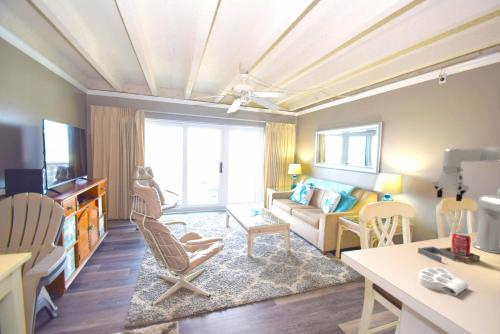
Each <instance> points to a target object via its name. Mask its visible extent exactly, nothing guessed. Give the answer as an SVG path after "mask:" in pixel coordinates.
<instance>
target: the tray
mask: <svg viewBox="0 0 500 334" xmlns="http://www.w3.org/2000/svg"><path fill="white" fill-rule="evenodd" d="M439 249H441V250H443V251H446V252H448V253H451V254H453V255H456V256H455V260H454V261H458V262H461V263H463V264H466V263H474V262H480V260H481V259H480V258H481V256H480V255H479V254H476V253H472V252H470V254H469V256H467V257H462V256H460V255H457V254H454V253H452V252H451V246H449V247H440V248H439Z"/></svg>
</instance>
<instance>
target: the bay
mask: <svg viewBox="0 0 500 334" xmlns="http://www.w3.org/2000/svg"><path fill="white" fill-rule="evenodd" d="M417 249H418V250H417V253H418V254H420V255H422V254H423V255H422V256H424V255H425V257H427V258H429V259H431V260H433V261H436V262H437V263H441V262H442V256H443V257H445V258H448V259H450V260H451V261H456V260H455V256H456V255H453V254H451V253H448V252H446V251H443V250H441V249H440V248H437V247H435V246H425V247H424V246H423V247H418V248H417ZM432 252H433V253H432ZM434 253H435V254H434Z"/></svg>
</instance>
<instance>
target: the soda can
mask: <svg viewBox="0 0 500 334" xmlns="http://www.w3.org/2000/svg"><path fill="white" fill-rule="evenodd" d="M471 243H472V239H471V237H470V234H468V233H466V232H461V231H454V233H453V234H452V237H451V245H450V247H451V252H452V253H454V254H457V255H460V256H462V257H467V256H469V254H470V253H471V245H472V244H471Z"/></svg>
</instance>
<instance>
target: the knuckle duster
mask: <svg viewBox="0 0 500 334" xmlns="http://www.w3.org/2000/svg"><path fill="white" fill-rule="evenodd" d="M415 274H416V275H418V278H417V283H418V284H419V285H420V286H422V287H424V288H426V289H430V290H439V291H442V292H444V293H446V294H448V295H450V296H458V294H460V293H462V292H464V290H465V289H468V288H469V284H468V282H466V281H465V280H463V279H461V278H459V277H457V276H454V275H453V274H452V273H451V272H450V271H449V270H447V269H444V268H441V267H437V266H436V267H433V268H431V267H426V268H423V269H421V270H420V271H419V272H415ZM451 291H453V292H451Z"/></svg>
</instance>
